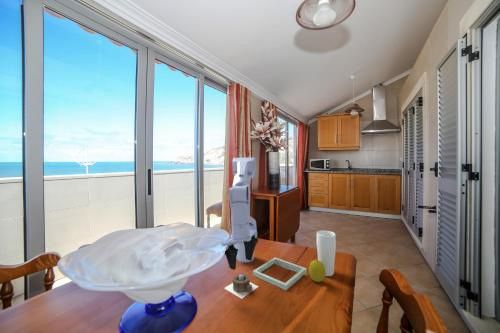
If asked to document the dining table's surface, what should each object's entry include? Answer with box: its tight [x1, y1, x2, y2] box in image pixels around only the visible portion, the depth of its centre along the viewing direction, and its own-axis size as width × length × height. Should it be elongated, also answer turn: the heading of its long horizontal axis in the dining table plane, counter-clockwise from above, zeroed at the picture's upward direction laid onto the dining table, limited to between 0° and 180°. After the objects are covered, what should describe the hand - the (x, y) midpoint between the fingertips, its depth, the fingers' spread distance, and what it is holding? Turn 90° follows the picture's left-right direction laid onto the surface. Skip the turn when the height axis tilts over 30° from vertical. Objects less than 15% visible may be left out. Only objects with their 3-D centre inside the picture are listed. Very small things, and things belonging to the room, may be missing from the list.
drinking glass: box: [315, 230, 337, 277], centre depth 78 cm, size 7×7×15 cm
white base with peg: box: [223, 275, 259, 299], centre depth 68 cm, size 8×8×5 cm
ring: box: [232, 273, 253, 294], centre depth 68 cm, size 7×5×3 cm
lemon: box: [308, 259, 326, 283], centre depth 72 cm, size 6×6×8 cm
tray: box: [252, 257, 307, 291], centre depth 76 cm, size 14×14×2 cm
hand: (240, 263), depth 68 cm, fingers open, 7 cm apart
